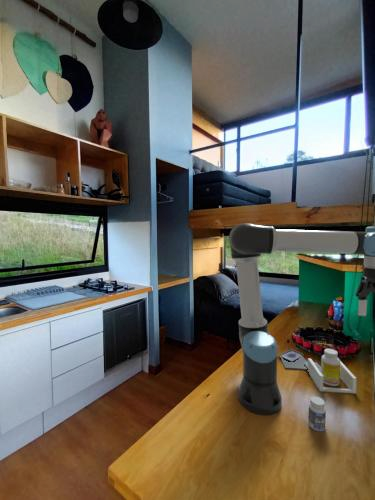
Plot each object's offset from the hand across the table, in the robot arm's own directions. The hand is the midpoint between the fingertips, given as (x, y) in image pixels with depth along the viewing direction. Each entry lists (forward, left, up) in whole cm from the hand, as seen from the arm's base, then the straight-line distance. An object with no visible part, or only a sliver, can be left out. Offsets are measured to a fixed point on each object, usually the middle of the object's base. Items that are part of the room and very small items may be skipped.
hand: (372, 321), depth 94 cm
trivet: (-24, +14, -26) cm, 38 cm away
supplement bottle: (-14, +1, -26) cm, 30 cm away
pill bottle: (-28, -23, -26) cm, 45 cm away
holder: (-14, +1, -26) cm, 30 cm away
